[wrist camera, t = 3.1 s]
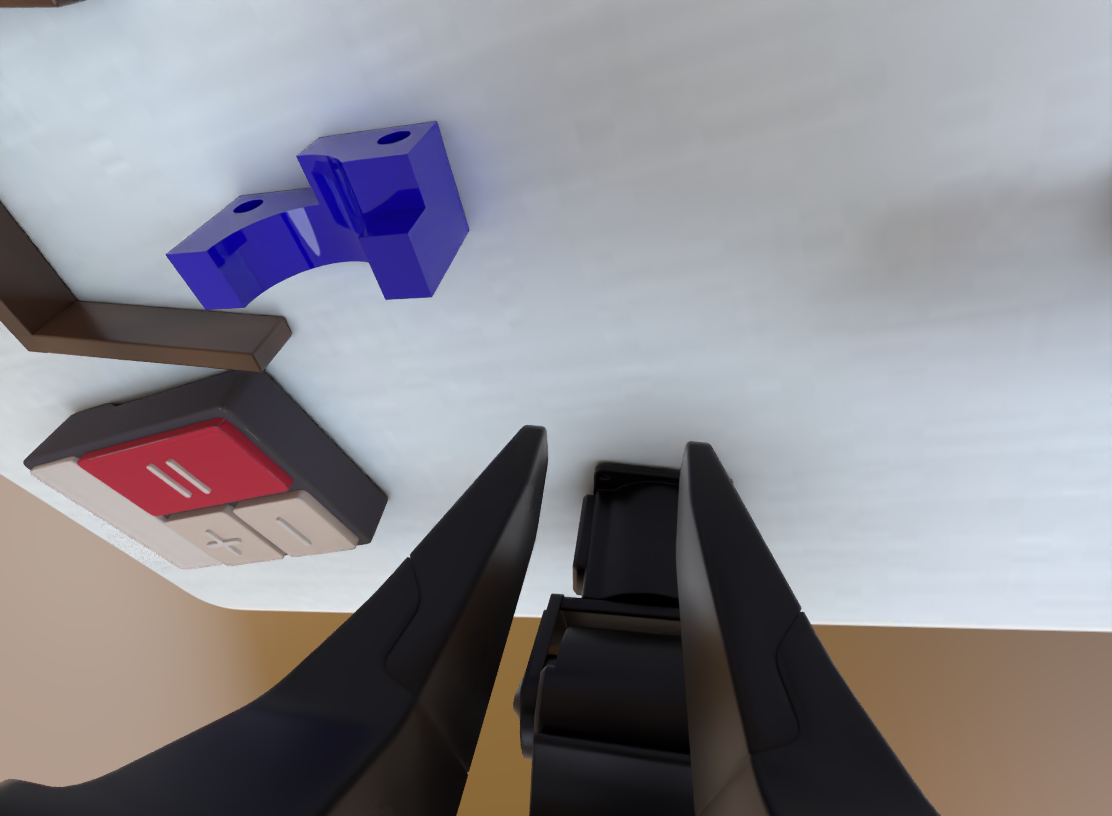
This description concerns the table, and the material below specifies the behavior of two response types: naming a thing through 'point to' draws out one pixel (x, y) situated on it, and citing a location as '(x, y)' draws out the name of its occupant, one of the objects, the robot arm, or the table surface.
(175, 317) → the square wooden border
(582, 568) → the robot arm
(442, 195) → the cable holder
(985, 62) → the table surface
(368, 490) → the calculator
